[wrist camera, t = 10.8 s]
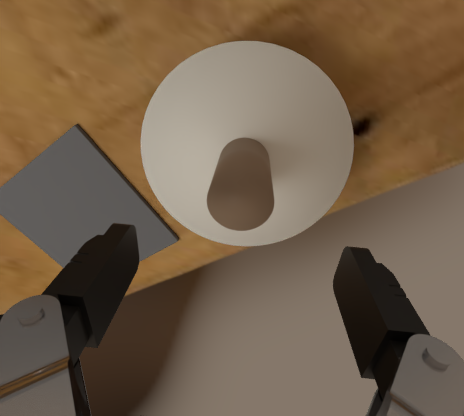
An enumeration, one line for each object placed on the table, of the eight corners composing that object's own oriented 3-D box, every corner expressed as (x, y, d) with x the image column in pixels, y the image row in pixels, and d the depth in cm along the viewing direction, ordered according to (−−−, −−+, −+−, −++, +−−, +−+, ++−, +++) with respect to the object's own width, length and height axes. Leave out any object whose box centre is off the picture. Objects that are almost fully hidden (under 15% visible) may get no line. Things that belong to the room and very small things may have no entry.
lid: (137, 30, 18) (72, 21, 11) (379, 52, 17) (449, 56, 11) (152, 228, 25) (118, 288, 19) (320, 246, 25) (342, 313, 19)
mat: (-12, 198, 33) (-16, 200, 32) (77, 124, 28) (74, 125, 27) (90, 286, 39) (88, 288, 38) (179, 238, 34) (178, 241, 33)
